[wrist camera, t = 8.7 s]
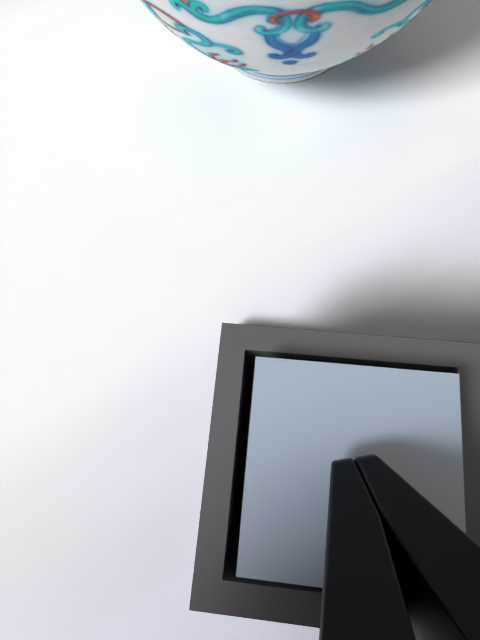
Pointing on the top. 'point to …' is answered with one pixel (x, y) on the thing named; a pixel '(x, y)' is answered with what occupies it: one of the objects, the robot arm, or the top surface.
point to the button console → (232, 442)
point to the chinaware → (284, 31)
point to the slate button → (338, 453)
